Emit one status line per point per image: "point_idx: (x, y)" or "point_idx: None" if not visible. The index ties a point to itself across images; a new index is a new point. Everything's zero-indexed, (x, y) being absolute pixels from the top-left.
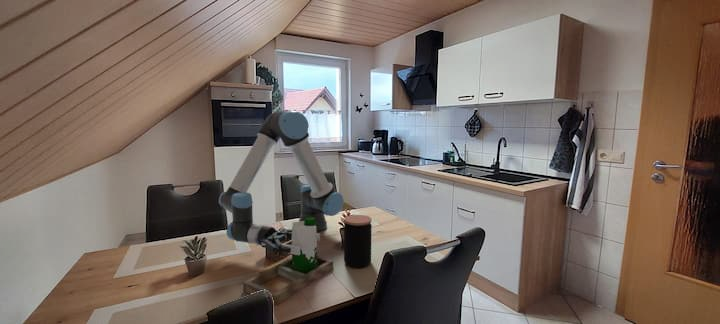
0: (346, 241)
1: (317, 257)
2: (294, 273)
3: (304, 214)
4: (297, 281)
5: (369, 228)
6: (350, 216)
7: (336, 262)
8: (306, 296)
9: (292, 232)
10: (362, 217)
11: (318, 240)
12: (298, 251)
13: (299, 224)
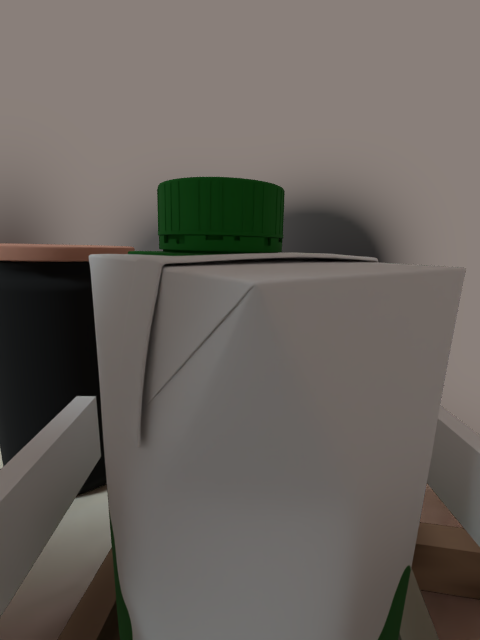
0: None
1: (105, 598)
2: (432, 624)
3: None
4: (464, 536)
5: None
6: (3, 244)
7: (68, 537)
8: (438, 514)
9: (412, 389)
10: (38, 244)
11: (97, 453)
12: None
13: (296, 264)
